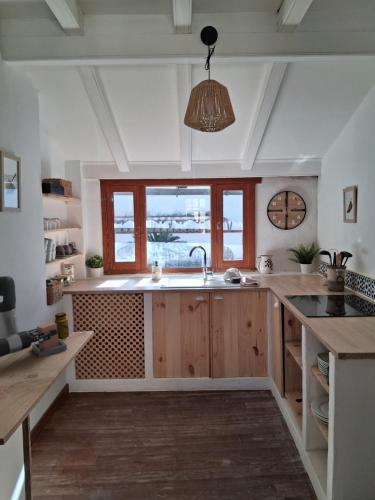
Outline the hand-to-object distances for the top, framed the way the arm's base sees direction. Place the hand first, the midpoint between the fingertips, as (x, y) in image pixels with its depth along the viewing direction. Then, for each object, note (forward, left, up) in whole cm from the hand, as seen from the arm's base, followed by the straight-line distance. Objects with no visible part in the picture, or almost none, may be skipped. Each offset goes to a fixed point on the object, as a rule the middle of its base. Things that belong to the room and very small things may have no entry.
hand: (52, 330), depth 169 cm
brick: (+1, -2, -8) cm, 8 cm away
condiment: (-11, +7, -9) cm, 16 cm away
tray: (+1, -2, -8) cm, 9 cm away
